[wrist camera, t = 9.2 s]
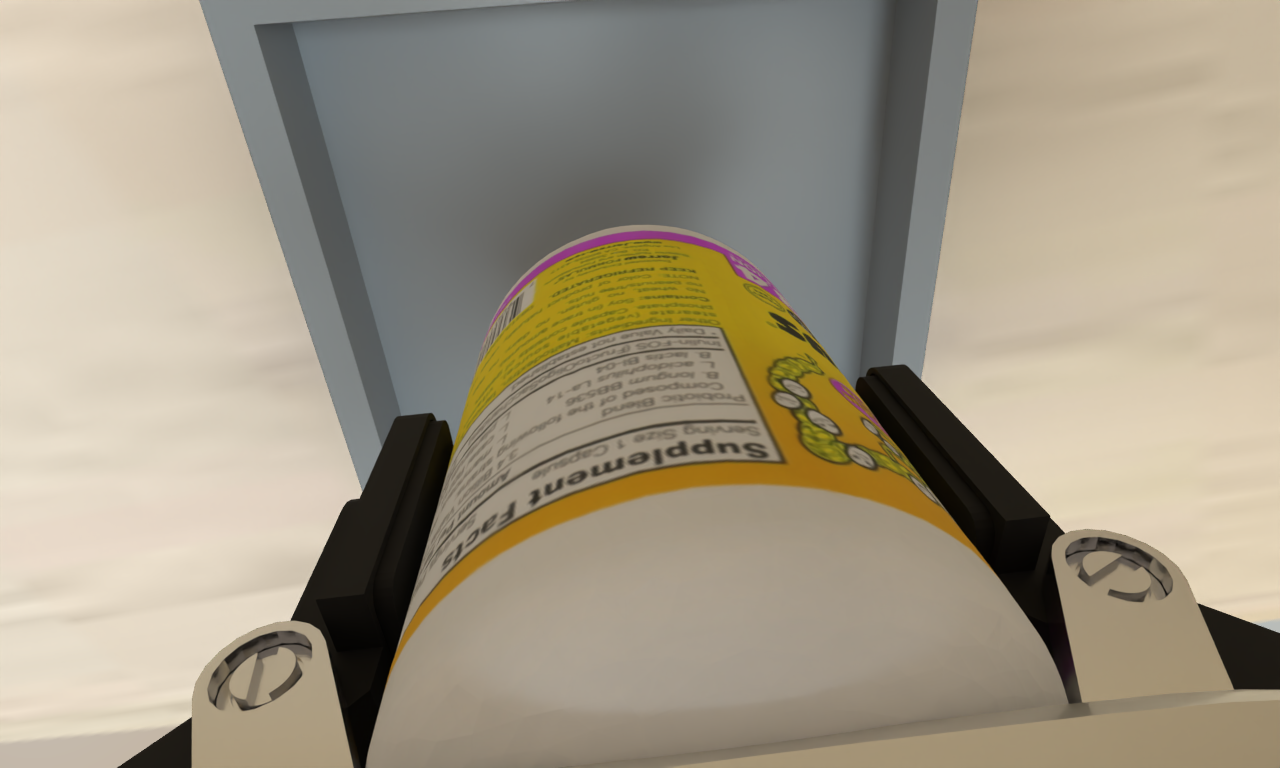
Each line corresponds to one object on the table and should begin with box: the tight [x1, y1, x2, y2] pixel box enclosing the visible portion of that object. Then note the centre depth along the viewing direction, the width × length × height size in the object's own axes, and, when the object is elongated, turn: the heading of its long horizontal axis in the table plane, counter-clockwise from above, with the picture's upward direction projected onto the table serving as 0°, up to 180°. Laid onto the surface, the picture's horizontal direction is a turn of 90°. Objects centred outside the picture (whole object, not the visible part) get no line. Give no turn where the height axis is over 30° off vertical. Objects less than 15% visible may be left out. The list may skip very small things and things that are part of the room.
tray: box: [199, 0, 978, 491], centre depth 20 cm, size 18×16×3 cm
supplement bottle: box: [365, 225, 1069, 768], centre depth 9 cm, size 7×7×13 cm
